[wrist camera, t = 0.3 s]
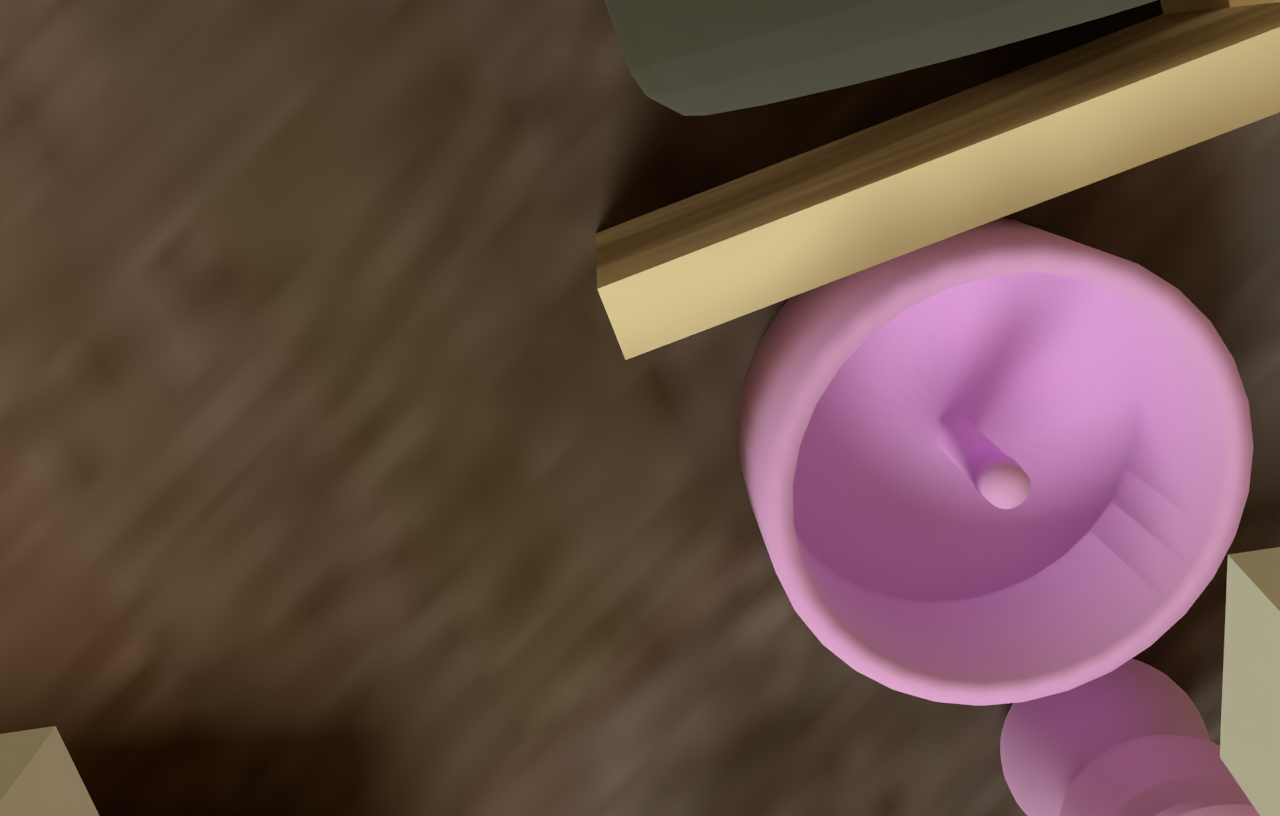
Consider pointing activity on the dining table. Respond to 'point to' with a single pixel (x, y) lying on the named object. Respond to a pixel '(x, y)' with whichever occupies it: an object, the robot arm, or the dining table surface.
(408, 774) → the dining table surface
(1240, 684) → the robot arm
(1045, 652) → the container set
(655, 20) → the rubber mallet
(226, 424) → the dining table surface
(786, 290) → the pine rack
